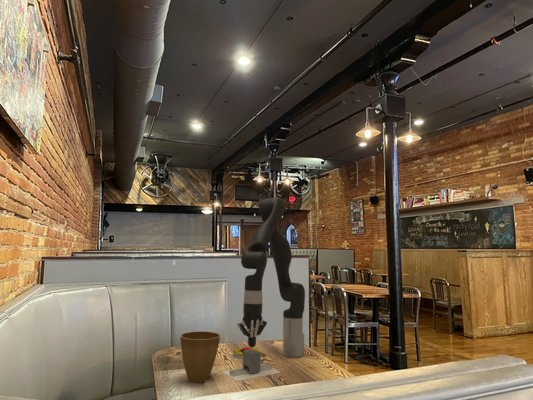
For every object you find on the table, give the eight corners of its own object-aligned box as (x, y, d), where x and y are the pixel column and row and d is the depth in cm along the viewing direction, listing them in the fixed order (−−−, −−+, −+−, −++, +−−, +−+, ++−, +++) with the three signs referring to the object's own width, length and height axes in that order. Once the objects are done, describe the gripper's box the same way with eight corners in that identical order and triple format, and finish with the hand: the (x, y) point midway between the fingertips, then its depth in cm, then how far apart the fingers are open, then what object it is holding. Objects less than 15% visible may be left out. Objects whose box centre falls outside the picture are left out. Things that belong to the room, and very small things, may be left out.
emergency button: (229, 346, 171) (260, 344, 177) (229, 356, 171) (260, 354, 176) (235, 351, 163) (267, 349, 168) (235, 362, 162) (267, 359, 167)
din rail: (268, 367, 151) (268, 363, 151) (272, 369, 149) (272, 365, 149) (229, 374, 141) (229, 370, 141) (232, 376, 139) (232, 372, 139)
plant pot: (220, 385, 133) (221, 338, 135) (177, 387, 129) (180, 340, 132) (216, 372, 147) (218, 330, 149) (178, 373, 144) (180, 331, 146)
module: (252, 367, 149) (252, 349, 150) (260, 371, 144) (260, 352, 145) (242, 369, 146) (243, 350, 147) (250, 373, 141) (250, 354, 142)
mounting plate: (264, 366, 155) (264, 364, 155) (280, 374, 145) (280, 372, 145) (221, 374, 144) (221, 371, 144) (236, 383, 134) (236, 380, 135)
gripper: (261, 299, 155) (260, 342, 153) (234, 301, 148) (232, 346, 146) (271, 302, 149) (270, 347, 147) (243, 303, 142) (241, 351, 140)
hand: (251, 346), depth 146 cm, fingers closed
